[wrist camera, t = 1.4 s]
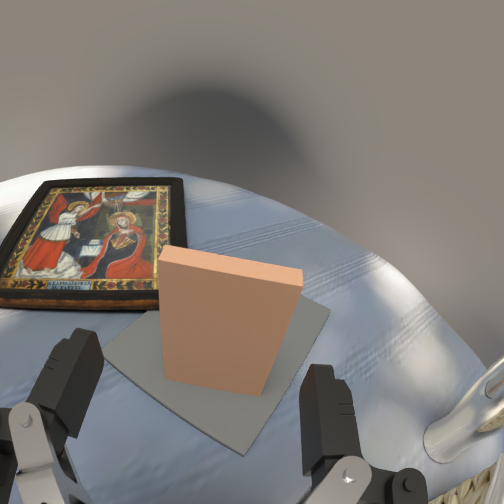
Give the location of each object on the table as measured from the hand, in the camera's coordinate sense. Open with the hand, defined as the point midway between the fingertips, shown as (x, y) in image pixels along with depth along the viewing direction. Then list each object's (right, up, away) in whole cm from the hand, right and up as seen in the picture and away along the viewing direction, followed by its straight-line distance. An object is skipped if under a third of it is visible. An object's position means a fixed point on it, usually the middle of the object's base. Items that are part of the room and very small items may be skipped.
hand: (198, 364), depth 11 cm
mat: (-1, -6, +26) cm, 27 cm away
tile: (-2, -9, +20) cm, 23 cm away
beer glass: (+25, -19, +17) cm, 35 cm away
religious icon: (-24, +7, +37) cm, 45 cm away
